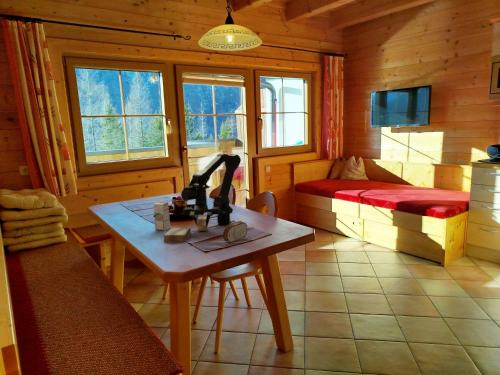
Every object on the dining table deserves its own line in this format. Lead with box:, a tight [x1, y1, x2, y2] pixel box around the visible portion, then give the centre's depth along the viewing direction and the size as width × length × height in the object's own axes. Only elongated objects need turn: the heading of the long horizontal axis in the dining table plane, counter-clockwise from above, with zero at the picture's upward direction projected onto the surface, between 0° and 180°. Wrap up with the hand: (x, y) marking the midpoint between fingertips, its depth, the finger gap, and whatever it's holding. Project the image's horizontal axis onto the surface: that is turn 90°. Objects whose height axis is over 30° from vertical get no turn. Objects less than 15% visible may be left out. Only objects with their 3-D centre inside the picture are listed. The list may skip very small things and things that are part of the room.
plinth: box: [163, 227, 192, 243], centre depth 167 cm, size 10×12×3 cm
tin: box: [222, 220, 248, 244], centre depth 162 cm, size 15×3×8 cm, turn 141°
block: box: [196, 216, 209, 232], centre depth 178 cm, size 4×4×6 cm
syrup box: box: [153, 201, 171, 231], centre depth 182 cm, size 6×6×14 cm
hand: (202, 226), depth 179 cm, fingers closed on block, 4 cm apart
